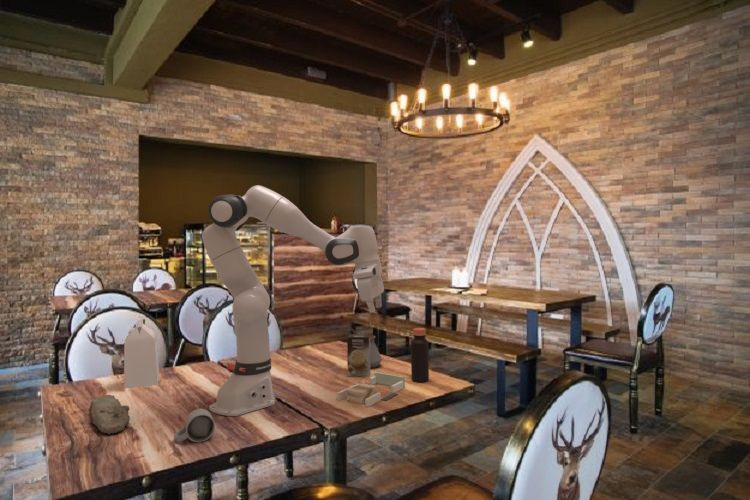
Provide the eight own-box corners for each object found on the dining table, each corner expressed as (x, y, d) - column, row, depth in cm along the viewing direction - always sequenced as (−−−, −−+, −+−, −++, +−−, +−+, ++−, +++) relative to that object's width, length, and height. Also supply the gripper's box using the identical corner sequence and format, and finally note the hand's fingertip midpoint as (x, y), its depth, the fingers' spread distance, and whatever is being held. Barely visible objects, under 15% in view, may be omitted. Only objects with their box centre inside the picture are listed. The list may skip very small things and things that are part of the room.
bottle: (430, 378, 188) (429, 327, 188) (427, 383, 182) (426, 331, 181) (413, 377, 190) (412, 327, 190) (409, 382, 184) (409, 330, 183)
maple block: (361, 404, 161) (361, 392, 161) (347, 401, 164) (347, 390, 164) (376, 397, 168) (376, 385, 168) (362, 394, 171) (362, 383, 171)
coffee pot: (387, 366, 206) (386, 332, 206) (364, 371, 200) (364, 335, 199) (360, 356, 224) (359, 325, 223) (339, 360, 217) (338, 328, 217)
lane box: (367, 407, 157) (367, 395, 157) (336, 400, 165) (336, 388, 165) (404, 387, 177) (404, 376, 177) (375, 382, 185) (375, 371, 184)
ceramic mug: (212, 429, 141) (211, 403, 141) (215, 439, 134) (214, 412, 134) (173, 436, 137) (172, 410, 137) (174, 447, 130) (173, 419, 129)
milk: (157, 387, 183) (155, 319, 182) (124, 391, 178) (121, 322, 178) (159, 378, 194) (157, 315, 193) (127, 382, 190) (125, 317, 189)
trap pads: (385, 401, 163) (385, 400, 163) (346, 392, 172) (346, 391, 172) (403, 391, 173) (403, 390, 173) (365, 383, 182) (365, 383, 182)
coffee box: (346, 376, 192) (346, 337, 192) (349, 372, 199) (348, 333, 198) (369, 376, 192) (368, 337, 191) (371, 372, 198) (370, 333, 197)
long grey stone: (119, 403, 170) (86, 411, 164) (117, 388, 170) (85, 396, 164) (136, 429, 141) (97, 440, 136) (134, 411, 141) (95, 421, 135)
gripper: (367, 268, 175) (374, 305, 175) (351, 274, 155) (359, 316, 155) (384, 266, 174) (391, 303, 174) (370, 271, 154) (377, 313, 154)
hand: (375, 309), depth 164 cm, fingers open, 8 cm apart
